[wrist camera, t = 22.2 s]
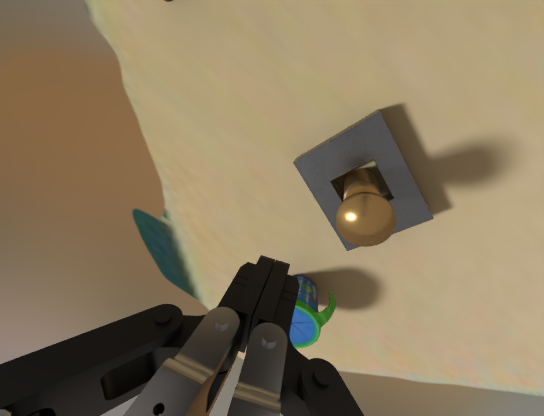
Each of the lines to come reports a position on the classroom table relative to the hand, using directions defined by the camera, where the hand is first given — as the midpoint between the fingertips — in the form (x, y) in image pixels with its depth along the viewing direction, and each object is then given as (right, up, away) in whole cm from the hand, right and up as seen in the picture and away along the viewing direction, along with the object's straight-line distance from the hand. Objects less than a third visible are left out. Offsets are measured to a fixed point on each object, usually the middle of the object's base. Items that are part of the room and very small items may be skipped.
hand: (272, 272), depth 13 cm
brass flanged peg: (+14, +7, +30) cm, 34 cm away
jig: (+15, +7, +29) cm, 34 cm away
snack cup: (+6, -14, +42) cm, 44 cm away
